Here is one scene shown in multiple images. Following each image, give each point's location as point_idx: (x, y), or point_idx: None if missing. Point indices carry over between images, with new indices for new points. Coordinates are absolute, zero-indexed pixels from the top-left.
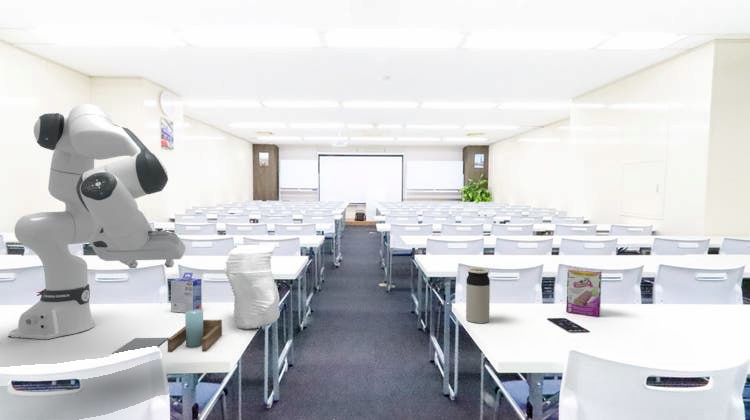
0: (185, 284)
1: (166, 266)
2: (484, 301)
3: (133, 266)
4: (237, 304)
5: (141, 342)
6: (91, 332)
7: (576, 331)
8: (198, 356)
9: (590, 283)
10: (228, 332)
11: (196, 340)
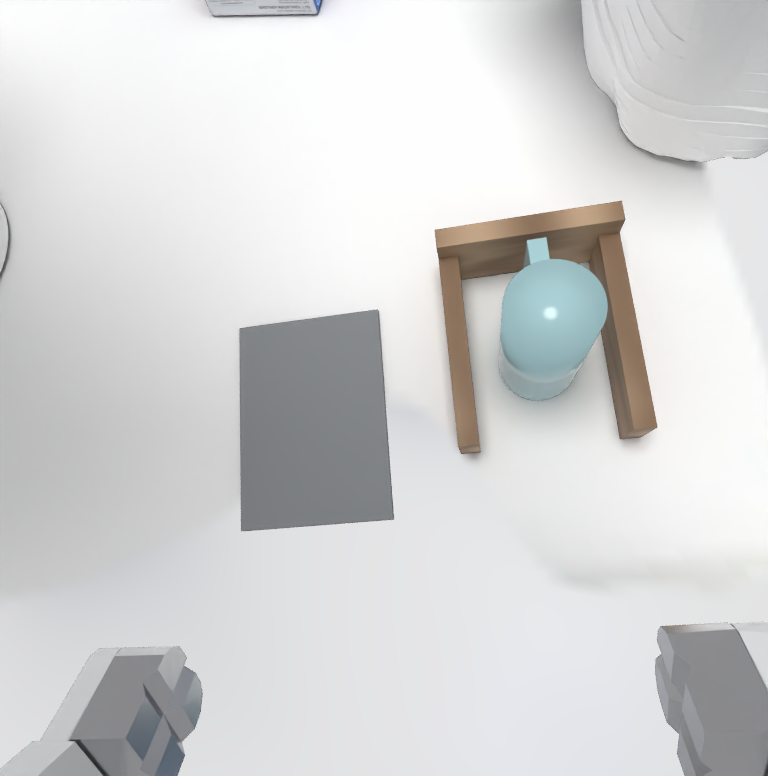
0: None
1: (679, 726)
2: None
3: (176, 754)
4: (684, 69)
5: (293, 374)
6: (32, 277)
7: None
8: (637, 499)
9: None
10: None
11: (567, 384)
